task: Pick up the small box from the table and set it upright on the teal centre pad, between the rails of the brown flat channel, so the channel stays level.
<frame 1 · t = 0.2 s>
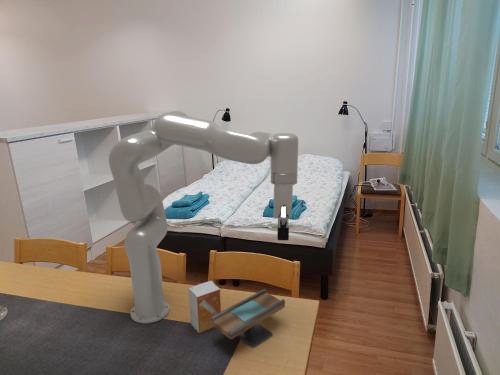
hand: (283, 233, 108), 31 cm above the table, tool pointing down, fingers open, 9 cm apart
small box: (206, 324, 116), on the table
pivot stand: (249, 332, 112), on the table
brown flat channel: (249, 311, 110), point 7 cm above the table, hinge at 0.0°
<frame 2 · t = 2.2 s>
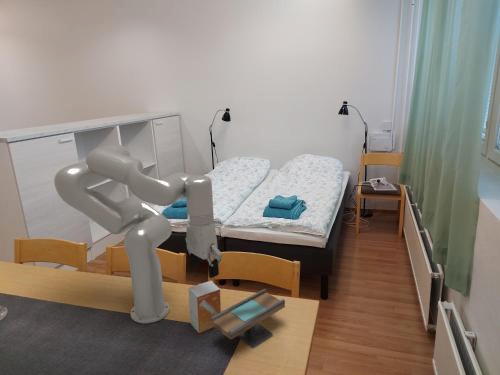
hand: (204, 270, 111), 19 cm above the table, tool pointing down, fingers open, 9 cm apart
nothing on the table moved.
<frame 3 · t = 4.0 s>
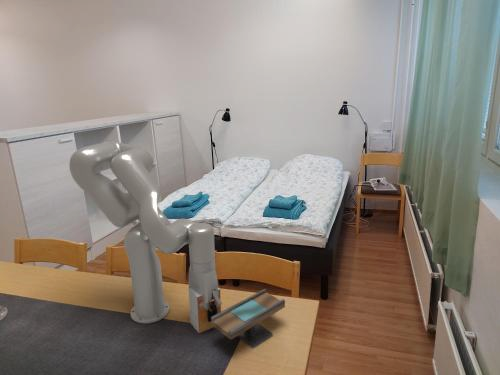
hand: (205, 313, 115), 4 cm above the table, tool pointing down, fingers closed on small box, 6 cm apart
small box: (206, 324, 116), on the table, touching gripper
everything else where it was.
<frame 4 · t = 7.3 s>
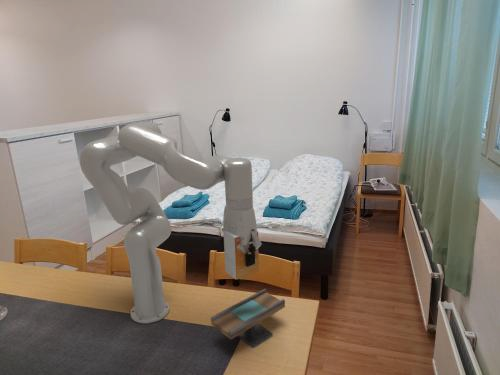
hand: (241, 260, 106), 24 cm above the table, tool pointing down, fingers closed on small box, 6 cm apart
small box: (242, 272, 107), point 20 cm above the table, touching gripper
everything else where it was.
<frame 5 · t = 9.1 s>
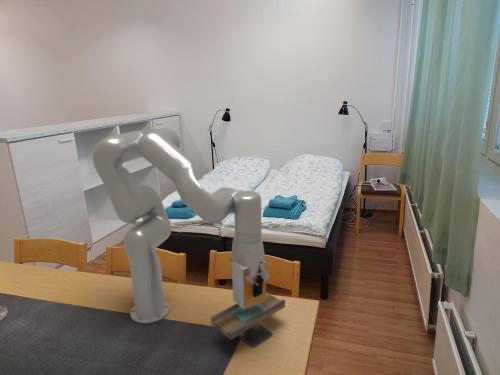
hand: (249, 289, 108), 15 cm above the table, tool pointing down, fingers closed on small box, 6 cm apart
small box: (249, 301, 109), point 11 cm above the table, touching gripper
everything else where it was.
when the fingers open (13 cm above the table, at t = 10.5 s): small box drops 1 cm, resting on brown flat channel.
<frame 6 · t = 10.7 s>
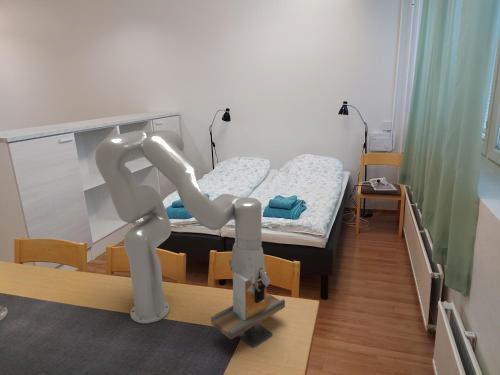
hand: (249, 294, 108), 13 cm above the table, tool pointing down, fingers open, 8 cm apart
small box: (249, 311, 110), point 8 cm above the table, touching brown flat channel
brown flat channel: (249, 311, 110), point 7 cm above the table, hinge at -0.4°, touching small box
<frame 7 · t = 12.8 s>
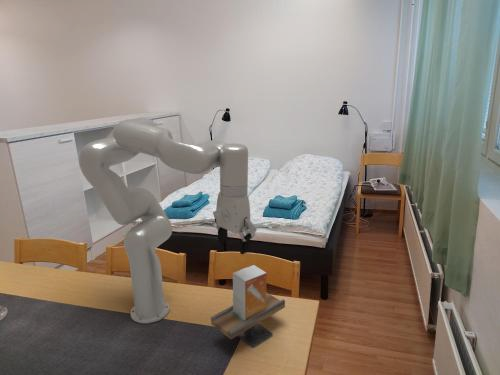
hand: (233, 246, 104), 29 cm above the table, tool pointing down, fingers open, 9 cm apart
nothing on the table moved.
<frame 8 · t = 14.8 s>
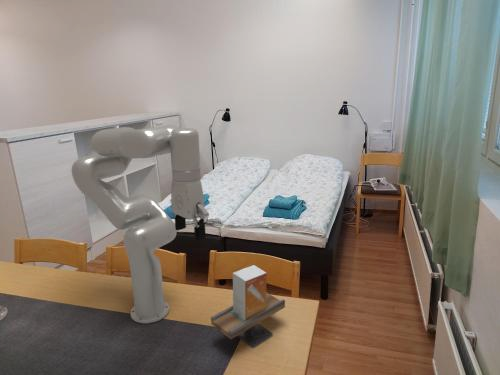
hand: (190, 234, 102), 33 cm above the table, tool pointing down, fingers open, 9 cm apart
nothing on the table moved.
at the end: small box 0.3 cm off-centre on the brown flat channel, point 1.5 cm above the brown flat channel's base; brown flat channel at +0° (first picture: +0°); small box tilted 0° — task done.
